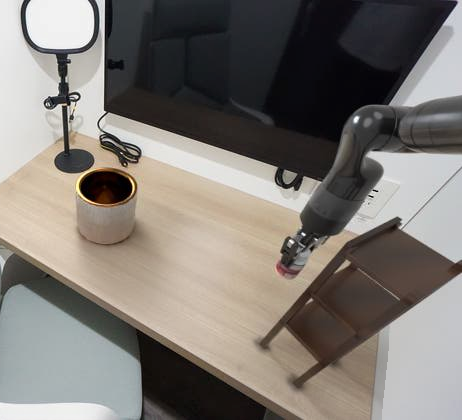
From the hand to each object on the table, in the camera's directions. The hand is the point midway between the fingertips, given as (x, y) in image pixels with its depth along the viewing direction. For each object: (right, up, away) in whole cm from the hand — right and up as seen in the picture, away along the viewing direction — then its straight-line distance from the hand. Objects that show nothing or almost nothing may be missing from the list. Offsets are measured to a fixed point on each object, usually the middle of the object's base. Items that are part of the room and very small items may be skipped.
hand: (293, 260), depth 72 cm
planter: (-42, +7, +26) cm, 50 cm away
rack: (-1, -20, -3) cm, 20 cm away
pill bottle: (0, -3, +3) cm, 5 cm away
